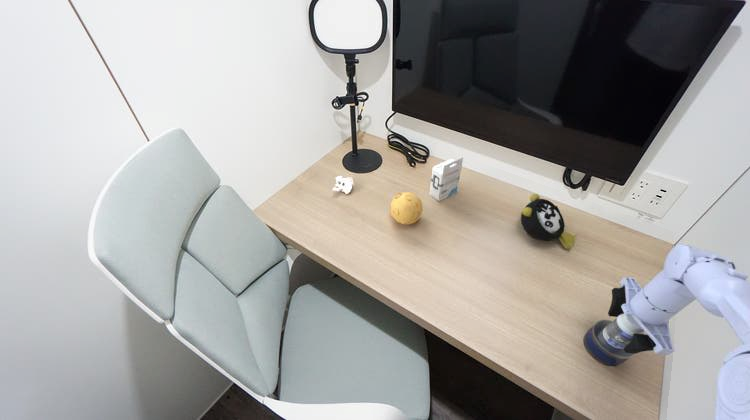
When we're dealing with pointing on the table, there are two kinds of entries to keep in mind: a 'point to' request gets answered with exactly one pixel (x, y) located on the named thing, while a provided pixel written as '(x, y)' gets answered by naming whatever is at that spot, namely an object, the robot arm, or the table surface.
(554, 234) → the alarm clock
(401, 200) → the stress ball
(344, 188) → the anatomical pelvis
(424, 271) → the table surface
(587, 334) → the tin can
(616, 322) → the pill bottle
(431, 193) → the ink box
